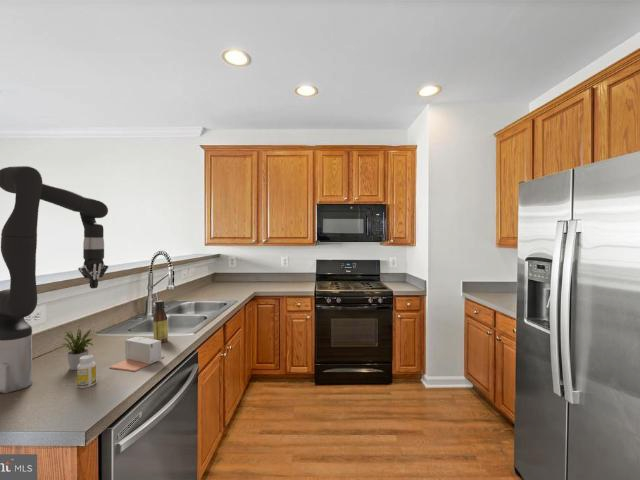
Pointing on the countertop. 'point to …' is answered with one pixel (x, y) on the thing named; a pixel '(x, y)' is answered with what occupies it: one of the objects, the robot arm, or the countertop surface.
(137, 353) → the skincare box
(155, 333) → the sauce bottle
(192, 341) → the countertop surface
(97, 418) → the countertop surface
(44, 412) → the countertop surface
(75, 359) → the house plant
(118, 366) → the plate
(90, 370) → the supplement bottle
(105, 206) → the robot arm
